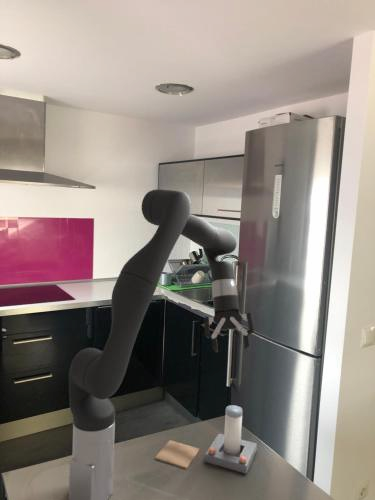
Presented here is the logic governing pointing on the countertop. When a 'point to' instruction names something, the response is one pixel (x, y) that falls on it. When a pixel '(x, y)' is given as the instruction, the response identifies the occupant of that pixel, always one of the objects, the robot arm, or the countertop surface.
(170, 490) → the countertop surface
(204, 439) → the countertop surface
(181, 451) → the pad
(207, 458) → the block
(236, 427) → the ball
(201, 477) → the countertop surface
